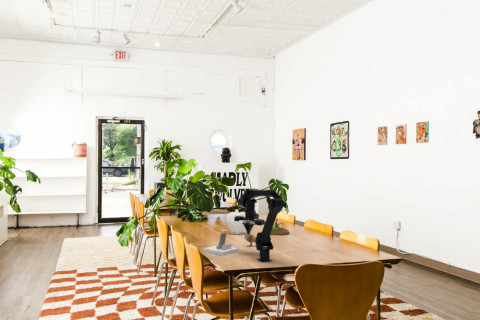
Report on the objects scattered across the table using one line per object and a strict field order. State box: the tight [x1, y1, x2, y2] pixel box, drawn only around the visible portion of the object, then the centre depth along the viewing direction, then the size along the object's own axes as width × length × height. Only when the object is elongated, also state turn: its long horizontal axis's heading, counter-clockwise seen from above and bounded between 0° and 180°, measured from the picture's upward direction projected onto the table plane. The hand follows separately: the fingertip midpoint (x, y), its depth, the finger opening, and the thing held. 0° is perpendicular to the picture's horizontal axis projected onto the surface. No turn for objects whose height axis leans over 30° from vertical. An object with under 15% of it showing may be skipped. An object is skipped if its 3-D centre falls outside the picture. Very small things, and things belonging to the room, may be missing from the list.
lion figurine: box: [244, 232, 256, 248], centre depth 297 cm, size 15×5×9 cm, turn 90°
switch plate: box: [202, 243, 240, 256], centre depth 279 cm, size 16×16×5 cm
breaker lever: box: [218, 229, 228, 248], centre depth 278 cm, size 2×5×12 cm, turn 140°
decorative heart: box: [225, 211, 246, 235], centre depth 342 cm, size 18×11×17 cm, turn 106°
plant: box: [270, 218, 290, 237], centre depth 350 cm, size 20×20×11 cm
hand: (248, 234), depth 271 cm, fingers closed
